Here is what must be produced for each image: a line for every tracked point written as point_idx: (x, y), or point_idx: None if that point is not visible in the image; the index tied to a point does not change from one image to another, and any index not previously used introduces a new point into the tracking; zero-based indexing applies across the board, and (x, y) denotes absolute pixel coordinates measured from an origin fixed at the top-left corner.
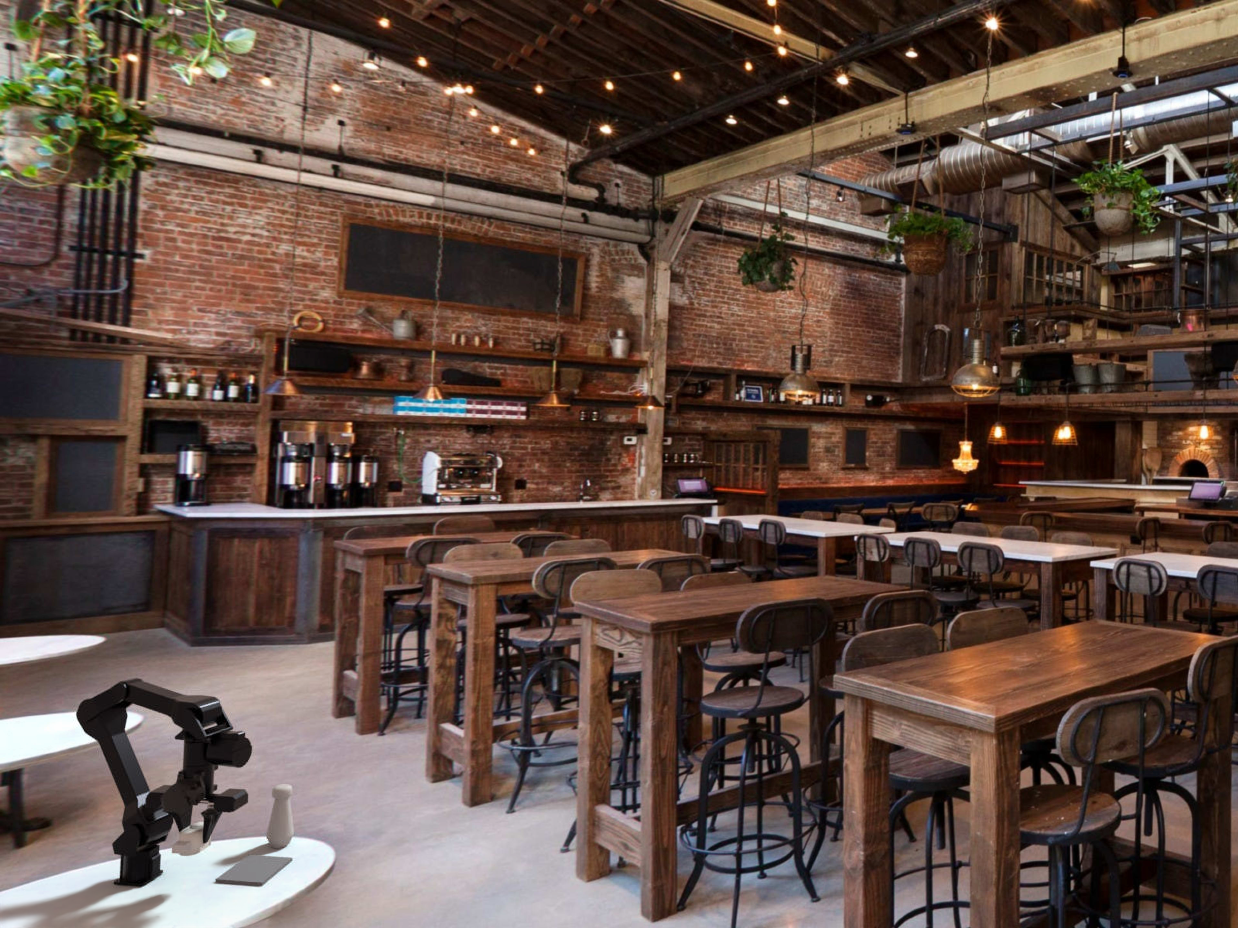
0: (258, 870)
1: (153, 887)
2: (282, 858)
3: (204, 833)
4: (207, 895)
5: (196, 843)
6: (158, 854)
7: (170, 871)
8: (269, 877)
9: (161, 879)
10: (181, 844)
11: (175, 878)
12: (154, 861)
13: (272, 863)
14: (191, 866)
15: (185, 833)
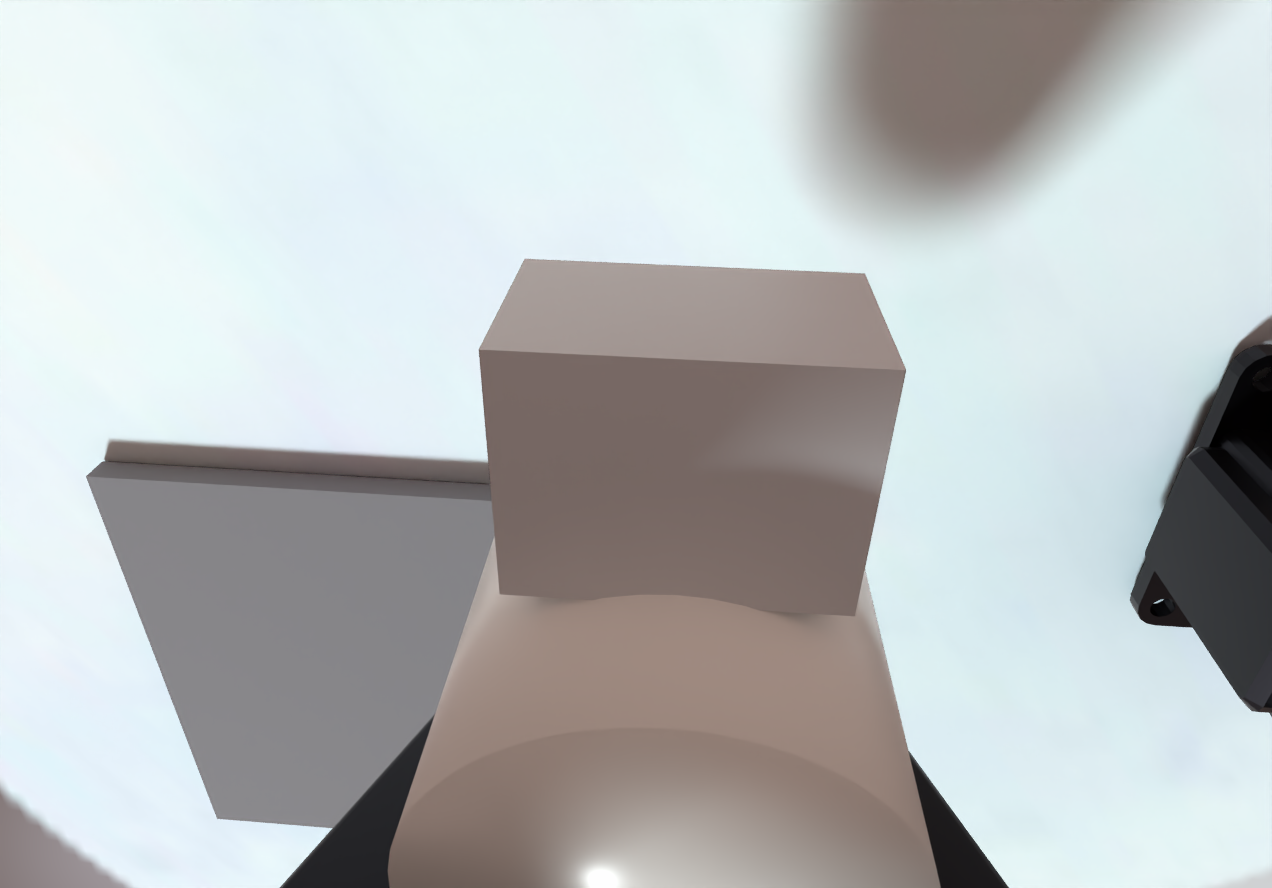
0: (299, 653)
1: (1106, 340)
2: (276, 806)
3: (367, 856)
4: (438, 232)
5: (474, 617)
6: (1269, 685)
7: (1071, 627)
8: (130, 567)
9: (1092, 495)
10: (621, 401)
11: (962, 520)
12: (1266, 586)
13: (287, 747)
14: (924, 704)
15: (718, 797)
